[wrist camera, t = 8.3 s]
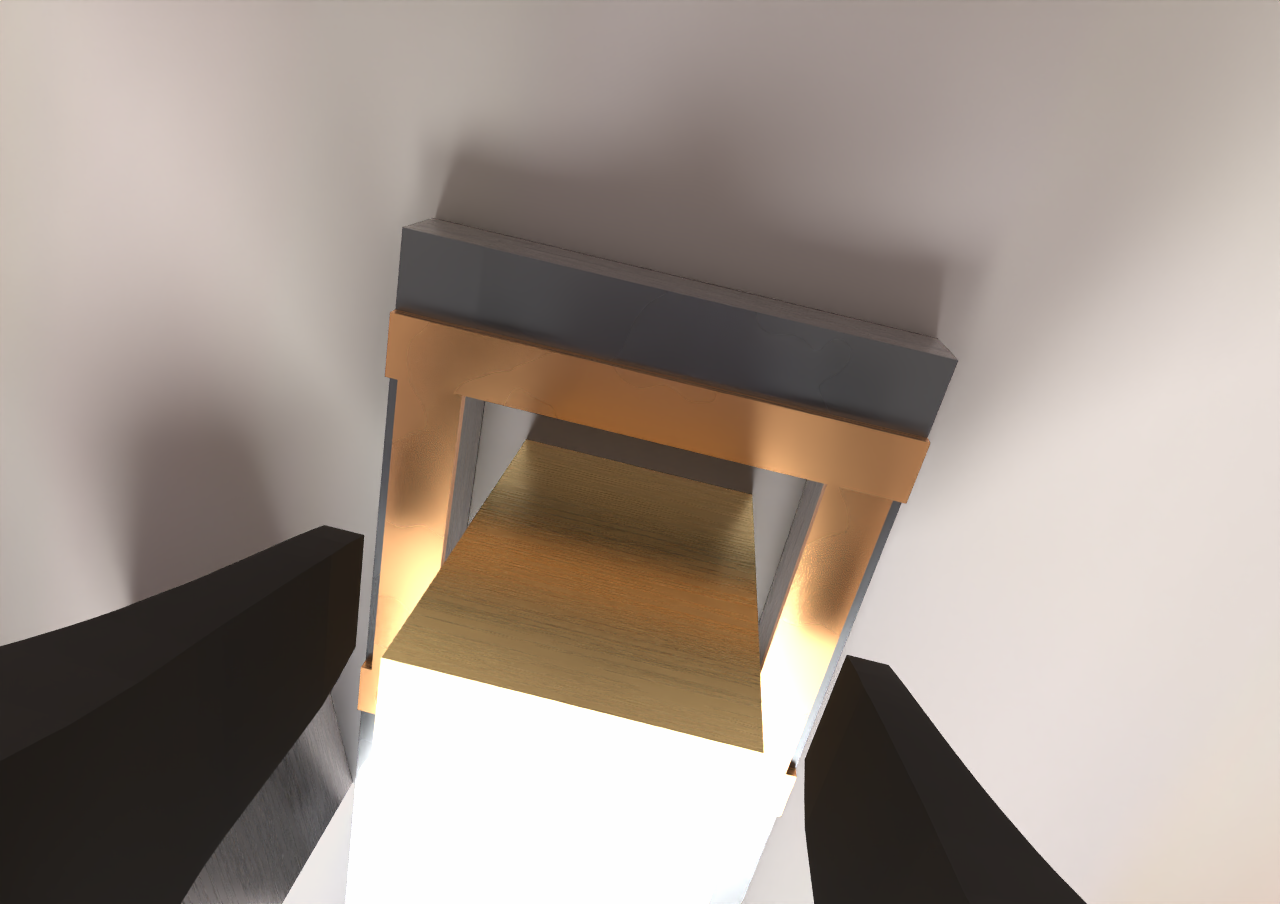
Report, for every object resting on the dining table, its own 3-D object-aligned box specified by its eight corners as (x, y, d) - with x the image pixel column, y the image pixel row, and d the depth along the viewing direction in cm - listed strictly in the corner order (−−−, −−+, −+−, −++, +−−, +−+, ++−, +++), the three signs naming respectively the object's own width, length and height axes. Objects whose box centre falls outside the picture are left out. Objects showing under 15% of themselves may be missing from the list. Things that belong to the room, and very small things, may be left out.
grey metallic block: (186, 772, 18) (-64, 1066, 12) (133, 625, 16) (-180, 885, 11) (352, 782, 17) (172, 1092, 12) (315, 630, 16) (86, 906, 10)
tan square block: (495, 624, 15) (356, 913, 9) (526, 438, 13) (381, 657, 8) (696, 674, 15) (673, 995, 9) (752, 493, 13) (763, 753, 8)
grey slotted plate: (350, 1044, 21) (325, 1105, 20) (433, 218, 12) (397, 228, 11) (638, 1120, 21) (632, 1186, 19) (937, 338, 12) (961, 364, 11)
